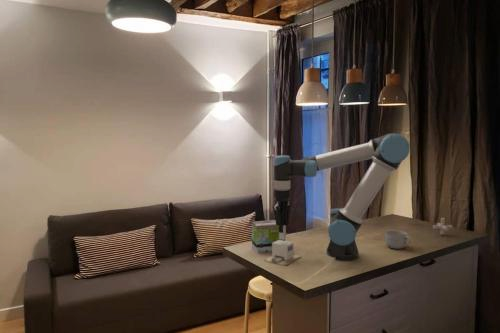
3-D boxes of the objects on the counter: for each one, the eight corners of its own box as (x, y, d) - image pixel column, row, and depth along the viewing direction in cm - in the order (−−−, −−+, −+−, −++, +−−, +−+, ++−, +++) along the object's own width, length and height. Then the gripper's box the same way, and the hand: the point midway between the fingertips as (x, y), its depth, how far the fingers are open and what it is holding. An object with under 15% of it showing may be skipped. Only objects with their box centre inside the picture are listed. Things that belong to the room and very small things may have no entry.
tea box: (257, 255, 191) (256, 226, 190) (251, 249, 201) (251, 221, 200) (285, 252, 195) (285, 223, 194) (279, 246, 205) (278, 218, 204)
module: (293, 257, 182) (293, 242, 182) (287, 260, 178) (287, 245, 177) (279, 253, 187) (278, 239, 186) (272, 257, 182) (272, 243, 182)
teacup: (380, 245, 203) (380, 230, 202) (397, 243, 206) (397, 228, 206) (398, 253, 190) (399, 237, 189) (416, 250, 193) (417, 235, 193)
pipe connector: (446, 232, 223) (447, 215, 222) (455, 237, 214) (456, 220, 212) (429, 233, 224) (429, 216, 223) (437, 238, 214) (437, 220, 213)
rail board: (301, 259, 185) (301, 253, 184) (286, 268, 173) (286, 262, 173) (280, 254, 192) (280, 249, 191) (264, 262, 180) (264, 257, 180)
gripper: (282, 186, 186) (282, 234, 189) (267, 190, 176) (268, 241, 178) (296, 187, 182) (296, 236, 184) (281, 191, 171) (281, 243, 174)
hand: (282, 238), depth 181 cm, fingers closed
